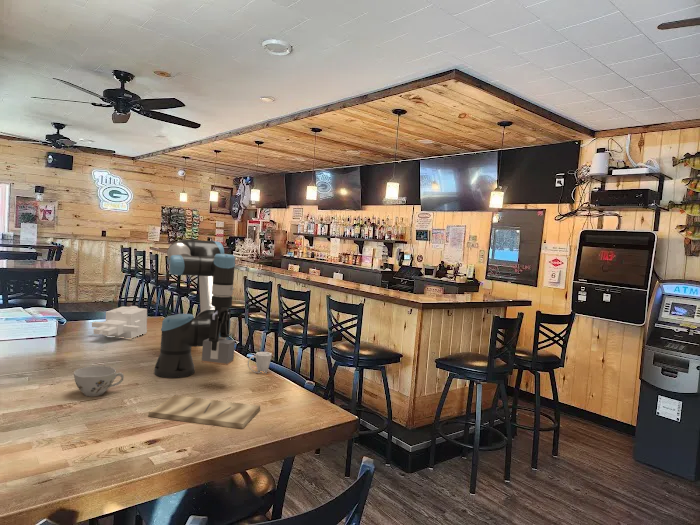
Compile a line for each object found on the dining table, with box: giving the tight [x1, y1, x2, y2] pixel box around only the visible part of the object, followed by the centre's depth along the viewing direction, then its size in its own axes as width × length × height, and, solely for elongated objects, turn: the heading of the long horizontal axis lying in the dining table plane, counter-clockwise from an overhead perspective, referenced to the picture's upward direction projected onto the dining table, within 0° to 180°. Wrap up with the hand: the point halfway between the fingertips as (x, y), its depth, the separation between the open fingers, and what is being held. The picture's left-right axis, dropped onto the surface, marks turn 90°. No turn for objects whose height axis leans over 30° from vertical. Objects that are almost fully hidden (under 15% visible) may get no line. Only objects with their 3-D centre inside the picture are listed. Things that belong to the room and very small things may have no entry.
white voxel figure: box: [91, 305, 148, 338], centre depth 237 cm, size 15×25×28 cm
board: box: [148, 394, 261, 430], centre depth 147 cm, size 30×16×2 cm, turn 83°
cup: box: [247, 351, 273, 374], centre depth 195 cm, size 7×10×8 cm
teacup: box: [73, 365, 125, 397], centre depth 157 cm, size 15×12×8 cm
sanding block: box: [201, 338, 236, 366], centre depth 174 cm, size 10×6×8 cm, turn 83°
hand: (218, 356), depth 174 cm, fingers closed on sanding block, 6 cm apart
